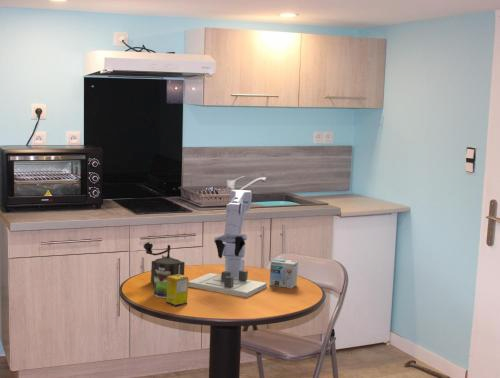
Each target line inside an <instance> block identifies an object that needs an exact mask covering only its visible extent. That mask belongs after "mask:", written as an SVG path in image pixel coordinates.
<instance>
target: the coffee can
mask: <svg viewBox="0 0 500 378" xmlns="http://www.w3.org/2000/svg"><path fill="white" fill-rule="evenodd" d="M172 258H173V257H172ZM172 258H162V257H160V258H156V259H154V261H155V272H154V283H153V296H154V297H156V298H159V299H167V276H171V275H177V274H180V261H181V260H180V259H177V258H174V259H172Z"/></svg>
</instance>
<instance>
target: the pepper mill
mask: <svg viewBox="0 0 500 378" xmlns="http://www.w3.org/2000/svg"><path fill="white" fill-rule="evenodd" d="M153 246H154V244H153V243H152V242H145V243H144V244H143V249H145V254H146V255H148V254H149V255H150V256H159V255H162V256H161V258H172V259H175V258H173V257H171V256H170V253H171V250H172V249H171V245H170V244H168V245H166V246H167V248H166V249H165V250H162V251H161V252H158V253H157V252H156V253H154V252H153V250H152V249H153ZM166 253H167V254H166ZM164 254H166V256H164ZM185 265H186V264H185V261H182V260H180V274H181V275H183V276H185ZM150 272H151V274H150V282H151V283H153V284H154V272H155V260H152V261H151V269H150Z"/></svg>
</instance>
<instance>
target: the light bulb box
mask: <svg viewBox="0 0 500 378" xmlns="http://www.w3.org/2000/svg"><path fill="white" fill-rule="evenodd" d="M298 267H299V261H297V260H289V259H281V258H274V259H272V260H271V261H270V269H269V270H270V273H269V285H270V286H275V287H282V288H286V287H287V288H288V289H293V288H294V287H296V286H297V283H298V281H297V280H298V271H299V268H298Z"/></svg>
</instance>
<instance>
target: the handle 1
mask: <svg viewBox="0 0 500 378" xmlns="http://www.w3.org/2000/svg"><path fill="white" fill-rule="evenodd" d="M233 283H234V277H231V276H226V277H225V281H224V287H230V288H231V287H233Z"/></svg>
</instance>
